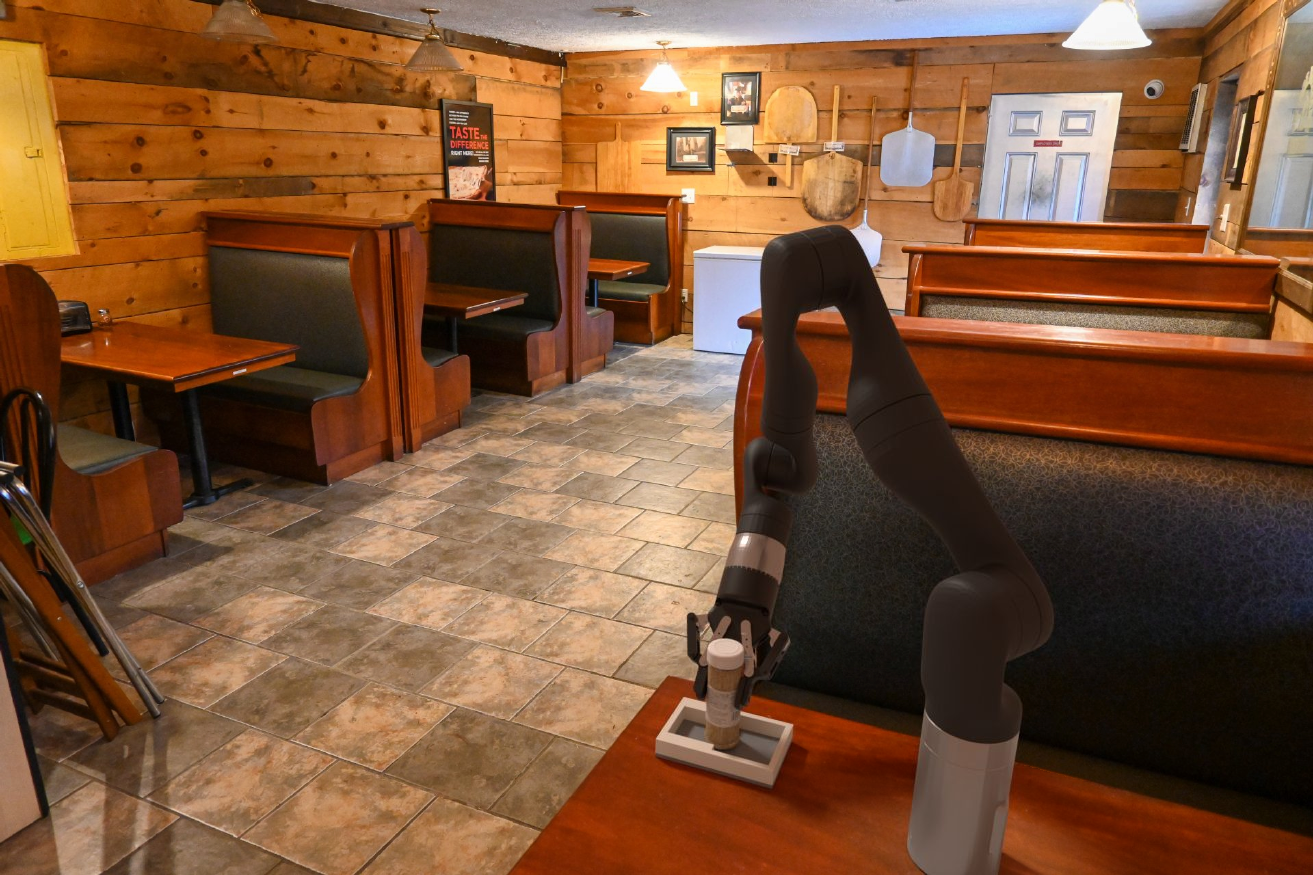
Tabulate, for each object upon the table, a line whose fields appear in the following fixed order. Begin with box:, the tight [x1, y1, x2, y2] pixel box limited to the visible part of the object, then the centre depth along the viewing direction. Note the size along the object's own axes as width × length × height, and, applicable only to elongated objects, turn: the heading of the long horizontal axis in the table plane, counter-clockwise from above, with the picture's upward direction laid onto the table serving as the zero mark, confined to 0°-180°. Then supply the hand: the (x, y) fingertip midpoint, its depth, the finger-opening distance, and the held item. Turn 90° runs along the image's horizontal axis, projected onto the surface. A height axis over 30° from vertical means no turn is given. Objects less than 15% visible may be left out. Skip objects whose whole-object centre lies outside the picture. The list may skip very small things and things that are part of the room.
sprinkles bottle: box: [704, 639, 744, 749], centre depth 108 cm, size 5×5×13 cm
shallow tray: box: [654, 696, 794, 790], centre depth 109 cm, size 15×10×2 cm, turn 68°
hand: (719, 703), depth 106 cm, fingers closed on sprinkles bottle, 4 cm apart
